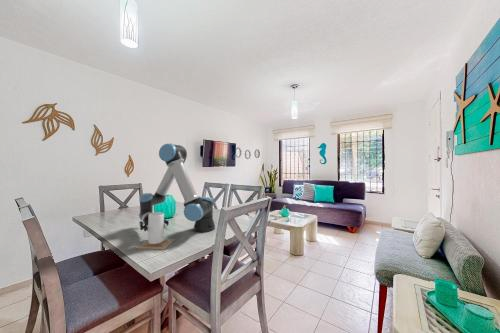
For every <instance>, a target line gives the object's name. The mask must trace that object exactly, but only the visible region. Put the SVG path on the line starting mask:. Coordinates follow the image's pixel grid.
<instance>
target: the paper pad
mask: <svg viewBox="0 0 500 333" xmlns="http://www.w3.org/2000/svg"><path fill="white" fill-rule="evenodd" d="M174 241H175V239H165V238H164V241H163V242H161V243H158V244H149V243H148V239H147V240H146V241H145V240H144V242H142V243H141V244H140V245H139V246H137V247H135V250H137V249H138V250H166V249H167V248H168V247H169V246H170V245H171V244H172V243H173V242H174Z"/></svg>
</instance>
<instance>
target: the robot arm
mask: <svg viewBox="0 0 500 333" xmlns="http://www.w3.org/2000/svg"><path fill="white" fill-rule="evenodd" d="M187 153H188V152H187V149H186V148H185V147H184V146H182V145H180V144H173V143H164V144H163V145H162V146H160V148H159V150H158V156H159V158H160V160H161V161H163V162H165V165H166V167H167V169H166V170H165V173H164V175H163V177H162V178H161V181H160V183H159V185H158V187H157V189H156V191H155V193H154V194H153V193H150V192H146V193H141V194H140V199H139V202H140V208H139V210H140V211H139V214H138V216H139V220H140V221H139V226H140V228H139V229H140V231H144V232H146V231H147V233H148V232H149V233H150V227H149V226H148V215H149V214H151V213H153V206H156V205H159V204H163V203H165V202H166V200H167V193H168V192H169V189H170V188H171V185H172V184H173V182H174V180H175V182H176V184H177V185H178V186H177V187H178V188H179V192H180V194H181V195H182V198H183V199H184V200H183V201H184V202H183V206H184V209H183V215H184V217H185V218H186V220H188V221H190V222H194V224H193V231H195V232H198V233H207V232H212V231H214V230H215V229H216V225H215V224H216V223H215V221H214V218H213V215H214V212H213V211H214V201H213V200H214V199H213V197H210V196H209V197H207V196H201V195H198V194H197V192H196V190H195V187H194V185H193V183H192V180H191V178H190V175H189V173H188V170H187V168H186V166H185V162H186V160H187V158H188V154H187ZM169 223H170V222H169V220H167V219H165V218H164V231H166V230H167V231H168V227H169Z"/></svg>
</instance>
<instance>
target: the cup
mask: <svg viewBox="0 0 500 333" xmlns="http://www.w3.org/2000/svg"><path fill="white" fill-rule="evenodd" d="M164 219H165V213H164V212H158V211H156V212H152V213H151V214H149V215H148V226H149V227H150V233H149V232H148V231H147V233H148V234H147V236H148V238H147V240H148V243H149V244H158V243H161V242H163V241H164V239H165V238H164V237H165V229H164Z"/></svg>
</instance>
